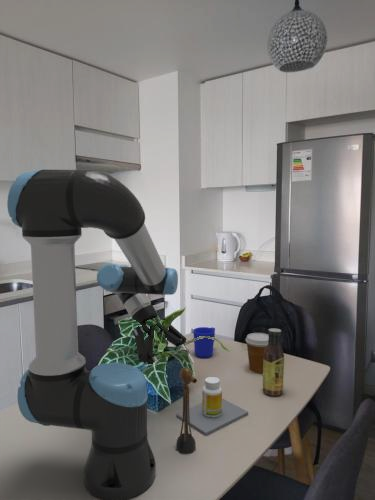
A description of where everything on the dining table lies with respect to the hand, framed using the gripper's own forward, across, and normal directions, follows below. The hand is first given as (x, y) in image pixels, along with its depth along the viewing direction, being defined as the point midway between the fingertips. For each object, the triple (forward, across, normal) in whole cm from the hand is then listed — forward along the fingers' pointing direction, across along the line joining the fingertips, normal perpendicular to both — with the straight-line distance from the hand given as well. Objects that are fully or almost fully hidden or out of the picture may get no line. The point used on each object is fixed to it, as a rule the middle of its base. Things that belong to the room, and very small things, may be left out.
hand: (178, 372), depth 114 cm
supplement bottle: (+14, 0, +2) cm, 15 cm away
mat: (+15, -1, +2) cm, 15 cm away
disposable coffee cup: (+12, -37, +1) cm, 39 cm away
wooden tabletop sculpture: (+17, +16, +3) cm, 24 cm away
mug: (-3, -39, -16) cm, 42 cm away
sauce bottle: (+20, -23, +8) cm, 32 cm away
